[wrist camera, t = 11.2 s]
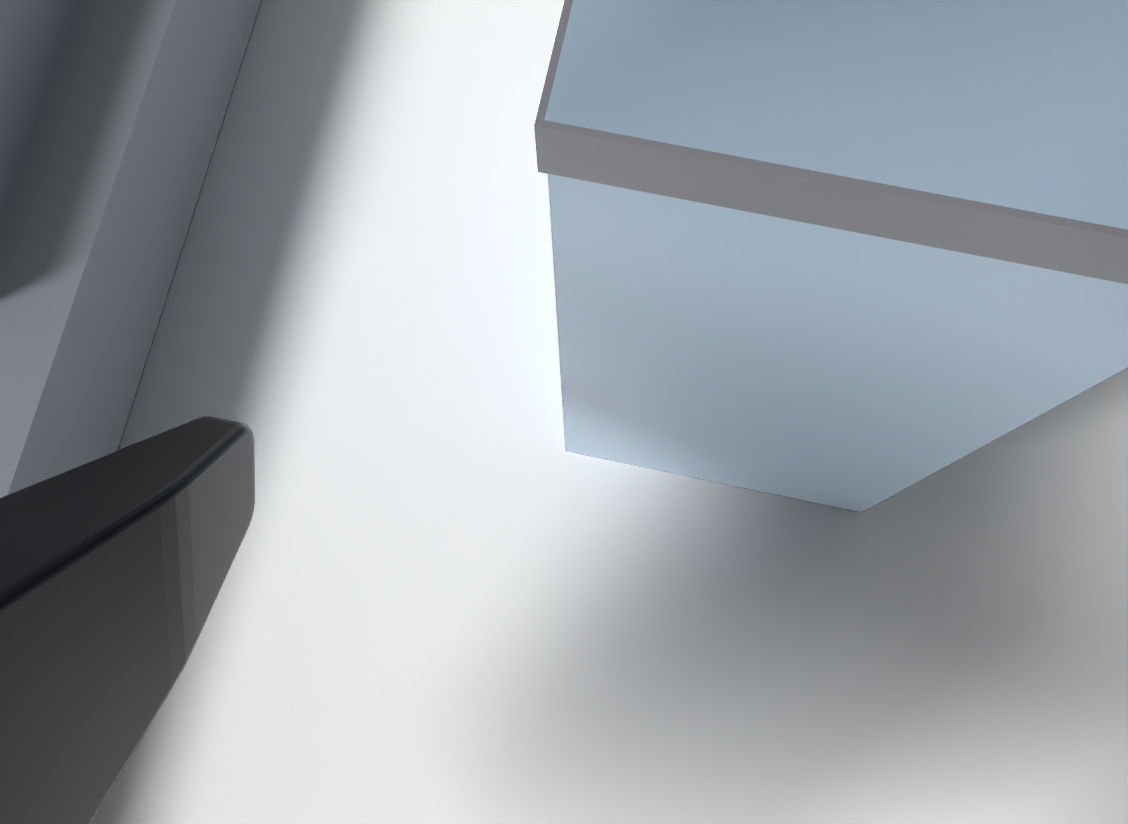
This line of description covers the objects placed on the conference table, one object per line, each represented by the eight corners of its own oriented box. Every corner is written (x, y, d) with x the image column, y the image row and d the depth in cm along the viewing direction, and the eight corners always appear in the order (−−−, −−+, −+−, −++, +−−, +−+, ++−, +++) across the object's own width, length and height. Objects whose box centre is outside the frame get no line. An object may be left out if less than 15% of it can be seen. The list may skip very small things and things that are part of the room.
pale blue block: (915, 176, 17) (1363, -478, 7) (863, 516, 16) (1324, 274, 6) (633, 123, 17) (704, -573, 8) (561, 453, 16) (533, 126, 6)
